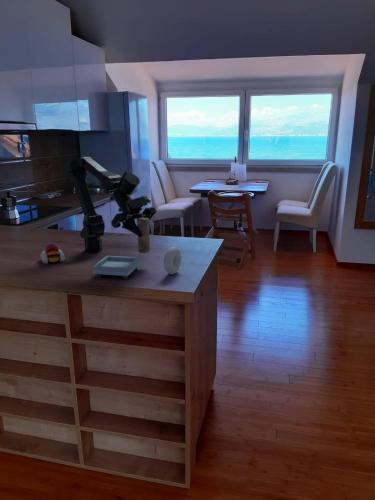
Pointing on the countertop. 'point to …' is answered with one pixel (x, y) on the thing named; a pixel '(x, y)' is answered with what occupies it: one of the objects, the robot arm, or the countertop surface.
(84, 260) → the countertop surface
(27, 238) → the countertop surface
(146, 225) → the walnut spindle
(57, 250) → the red yellow rounded shape
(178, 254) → the donut
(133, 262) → the tray
